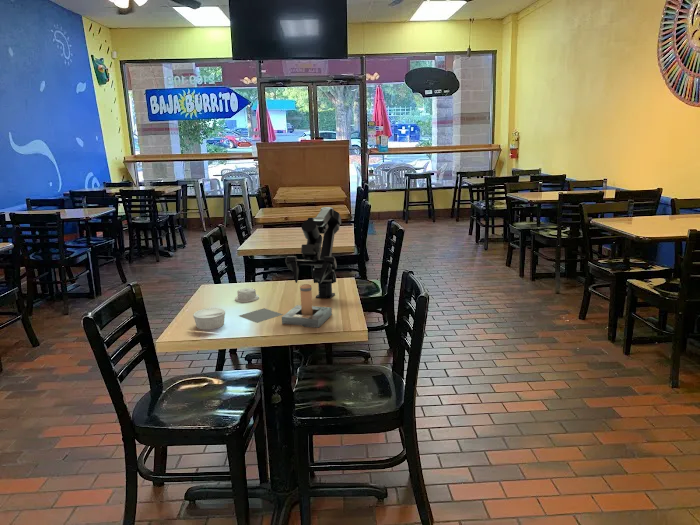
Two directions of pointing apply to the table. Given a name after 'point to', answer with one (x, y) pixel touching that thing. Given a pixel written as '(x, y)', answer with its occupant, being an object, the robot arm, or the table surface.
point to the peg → (306, 299)
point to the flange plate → (307, 321)
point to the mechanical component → (246, 295)
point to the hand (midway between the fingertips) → (308, 282)
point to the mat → (260, 315)
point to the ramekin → (209, 318)
